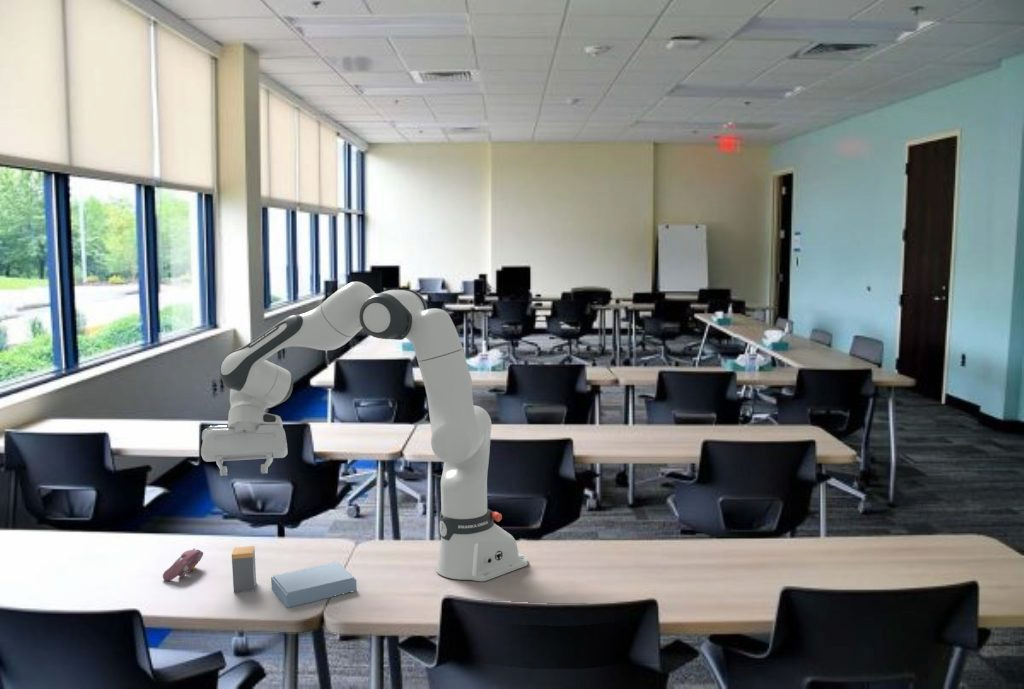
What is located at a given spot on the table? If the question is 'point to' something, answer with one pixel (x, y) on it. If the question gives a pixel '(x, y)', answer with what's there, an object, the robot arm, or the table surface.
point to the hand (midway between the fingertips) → (243, 473)
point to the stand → (312, 584)
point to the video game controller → (183, 564)
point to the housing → (244, 569)
